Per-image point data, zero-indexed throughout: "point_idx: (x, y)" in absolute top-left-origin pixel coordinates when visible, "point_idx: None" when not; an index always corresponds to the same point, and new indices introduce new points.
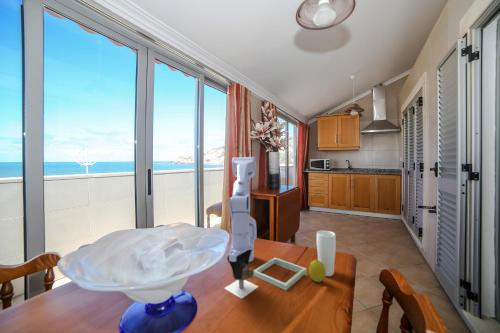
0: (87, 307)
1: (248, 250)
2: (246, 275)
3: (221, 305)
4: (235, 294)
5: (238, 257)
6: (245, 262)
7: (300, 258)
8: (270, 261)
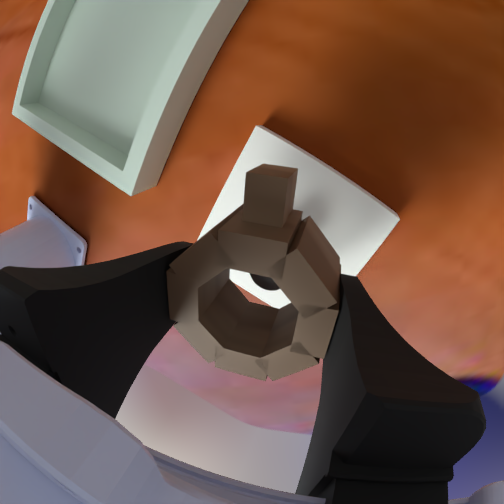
0: None
1: (57, 331)
2: (309, 234)
3: (420, 309)
4: (362, 261)
5: (403, 491)
6: (161, 283)
7: (9, 30)
8: (36, 120)
